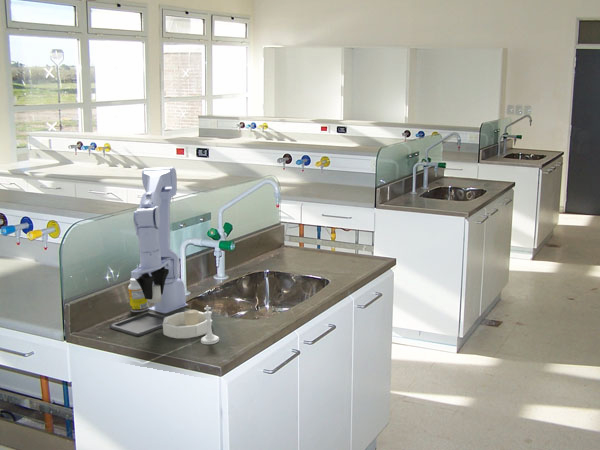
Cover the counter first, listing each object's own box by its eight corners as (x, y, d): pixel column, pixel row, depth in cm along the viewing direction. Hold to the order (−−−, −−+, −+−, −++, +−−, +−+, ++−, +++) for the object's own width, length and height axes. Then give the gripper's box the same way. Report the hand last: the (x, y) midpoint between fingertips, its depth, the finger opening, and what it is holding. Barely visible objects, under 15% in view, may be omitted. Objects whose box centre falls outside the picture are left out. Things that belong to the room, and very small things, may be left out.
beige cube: (186, 325, 203) (184, 310, 202) (200, 324, 203) (198, 309, 202) (184, 330, 199) (183, 314, 198) (198, 329, 199) (197, 313, 198)
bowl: (189, 320, 209) (188, 308, 208) (220, 328, 201) (220, 316, 200) (154, 333, 199) (153, 321, 198) (186, 342, 191) (185, 330, 190)
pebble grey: (155, 298, 206) (153, 283, 205) (164, 300, 204) (163, 285, 203) (144, 302, 203) (142, 287, 202) (154, 304, 201) (152, 288, 200)
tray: (148, 315, 215) (148, 311, 215) (177, 322, 207) (176, 318, 207) (109, 329, 205) (109, 325, 204) (138, 337, 196) (138, 333, 196)
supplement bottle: (133, 307, 223) (130, 276, 221) (151, 307, 223) (148, 275, 221) (128, 313, 218) (124, 281, 216) (145, 313, 217) (142, 280, 215)
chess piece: (201, 338, 194) (198, 303, 192) (219, 337, 194) (217, 302, 192) (200, 345, 189) (197, 309, 187) (218, 343, 189) (216, 307, 187)
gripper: (155, 243, 208) (159, 288, 211) (120, 255, 196) (125, 302, 199) (174, 245, 205) (178, 290, 208) (140, 257, 193) (145, 305, 195)
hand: (154, 296), depth 203 cm, fingers closed on pebble grey, 4 cm apart
